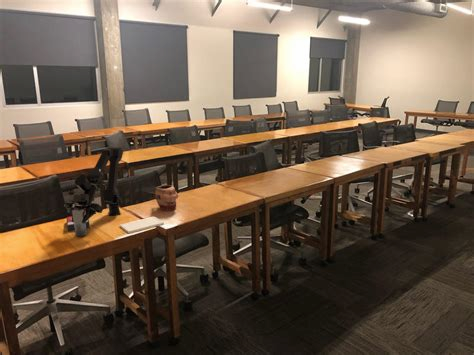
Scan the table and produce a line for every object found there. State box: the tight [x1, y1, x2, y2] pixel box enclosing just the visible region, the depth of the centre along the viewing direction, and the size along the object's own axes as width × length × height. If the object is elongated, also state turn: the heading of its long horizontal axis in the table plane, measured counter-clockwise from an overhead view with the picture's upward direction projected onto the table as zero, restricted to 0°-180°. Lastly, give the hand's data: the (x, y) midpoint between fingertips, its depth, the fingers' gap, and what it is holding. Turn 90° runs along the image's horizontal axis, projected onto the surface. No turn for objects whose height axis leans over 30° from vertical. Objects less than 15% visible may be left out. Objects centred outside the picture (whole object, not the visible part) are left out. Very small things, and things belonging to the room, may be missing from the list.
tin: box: [71, 208, 88, 237], centre depth 191 cm, size 6×6×13 cm
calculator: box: [66, 215, 91, 233], centre depth 207 cm, size 11×4×15 cm
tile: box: [119, 216, 165, 234], centre depth 205 cm, size 20×12×1 cm, turn 128°
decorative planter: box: [154, 184, 179, 211], centre depth 231 cm, size 20×12×14 cm, turn 51°
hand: (78, 222), depth 190 cm, fingers closed on tin, 5 cm apart
